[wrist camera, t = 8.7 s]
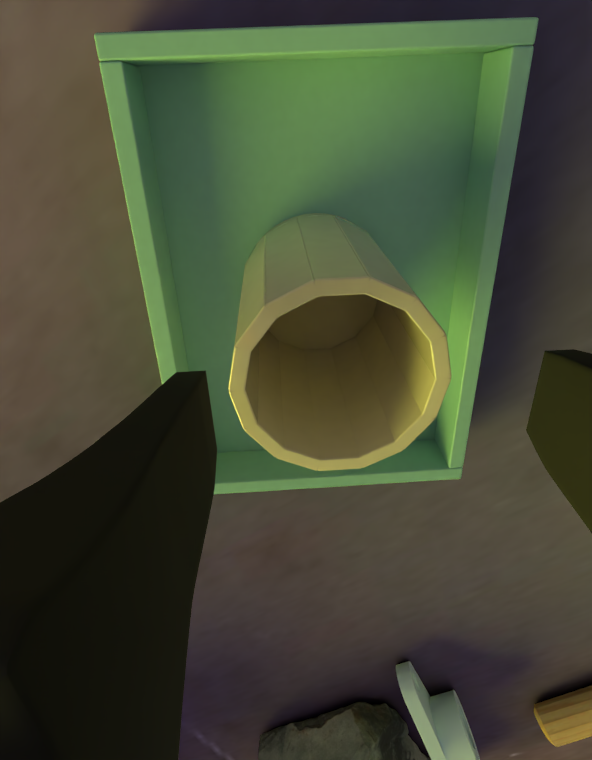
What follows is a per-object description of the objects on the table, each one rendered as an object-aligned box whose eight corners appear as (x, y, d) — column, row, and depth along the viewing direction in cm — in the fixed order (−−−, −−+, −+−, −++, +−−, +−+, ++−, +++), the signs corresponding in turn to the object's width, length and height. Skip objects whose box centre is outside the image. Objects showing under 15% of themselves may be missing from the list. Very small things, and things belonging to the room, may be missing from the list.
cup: (384, 348, 19) (440, 464, 13) (247, 356, 19) (238, 476, 13) (392, 209, 17) (467, 271, 10) (233, 216, 16) (215, 284, 10)
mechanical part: (466, 715, 33) (487, 782, 29) (431, 725, 34) (447, 792, 30) (428, 633, 31) (445, 694, 27) (390, 645, 31) (402, 707, 27)
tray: (442, 442, 22) (461, 479, 20) (191, 457, 22) (183, 497, 20) (499, 29, 15) (540, 16, 12) (118, 43, 14) (92, 32, 12)
